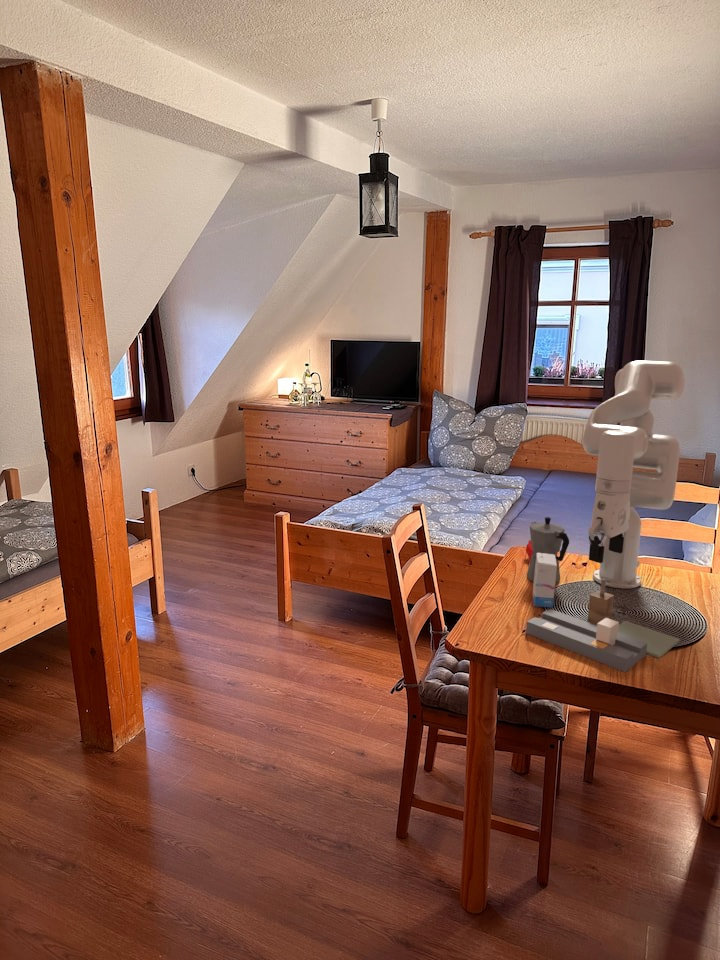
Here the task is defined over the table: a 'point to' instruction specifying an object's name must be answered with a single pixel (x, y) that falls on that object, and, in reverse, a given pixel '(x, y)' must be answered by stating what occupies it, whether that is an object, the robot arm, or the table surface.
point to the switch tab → (607, 631)
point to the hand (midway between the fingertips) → (605, 556)
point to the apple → (529, 550)
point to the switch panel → (586, 640)
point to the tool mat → (649, 638)
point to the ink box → (544, 580)
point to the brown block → (600, 605)
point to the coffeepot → (547, 544)
